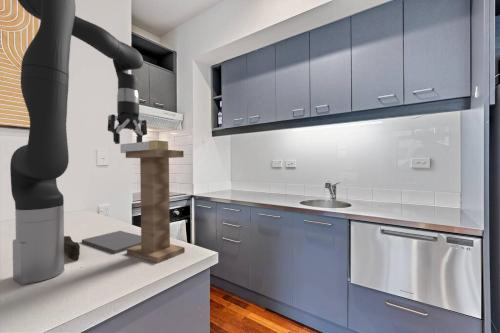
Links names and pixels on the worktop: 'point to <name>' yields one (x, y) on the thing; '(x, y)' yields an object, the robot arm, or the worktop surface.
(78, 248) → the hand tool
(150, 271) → the worktop surface
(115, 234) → the rubber mat
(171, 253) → the walnut stand
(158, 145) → the grey rectangular bar
